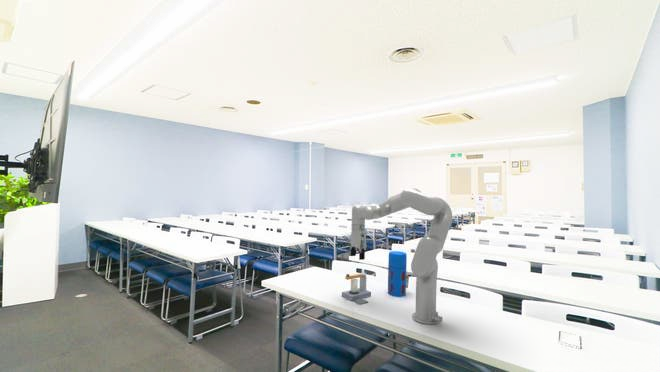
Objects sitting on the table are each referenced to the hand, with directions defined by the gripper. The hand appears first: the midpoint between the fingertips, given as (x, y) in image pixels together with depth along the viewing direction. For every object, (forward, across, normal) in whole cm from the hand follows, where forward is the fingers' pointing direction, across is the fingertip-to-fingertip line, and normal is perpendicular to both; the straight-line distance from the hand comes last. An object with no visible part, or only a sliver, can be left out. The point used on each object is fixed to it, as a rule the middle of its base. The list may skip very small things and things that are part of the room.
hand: (357, 257), depth 165 cm
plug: (+24, +6, -2) cm, 25 cm away
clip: (+13, +6, -3) cm, 15 cm away
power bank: (+25, -72, -64) cm, 100 cm away
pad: (+24, -2, -1) cm, 25 cm away
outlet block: (+24, +6, -4) cm, 26 cm away
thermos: (+25, +1, -29) cm, 38 cm away
